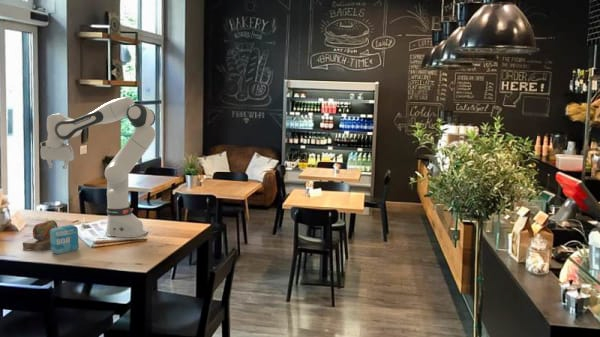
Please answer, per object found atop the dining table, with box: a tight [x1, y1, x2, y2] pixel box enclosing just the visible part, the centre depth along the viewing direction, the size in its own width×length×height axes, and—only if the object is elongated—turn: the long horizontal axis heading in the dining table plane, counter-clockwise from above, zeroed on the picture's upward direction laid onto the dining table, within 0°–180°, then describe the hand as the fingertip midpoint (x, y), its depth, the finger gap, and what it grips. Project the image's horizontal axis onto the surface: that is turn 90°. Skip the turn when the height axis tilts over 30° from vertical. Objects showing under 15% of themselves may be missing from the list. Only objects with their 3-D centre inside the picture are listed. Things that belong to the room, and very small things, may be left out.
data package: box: [50, 224, 80, 255], centre depth 293 cm, size 12×4×12 cm, turn 137°
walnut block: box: [22, 237, 51, 252], centre depth 305 cm, size 12×20×4 cm, turn 166°
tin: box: [32, 219, 59, 240], centre depth 304 cm, size 15×3×8 cm, turn 161°
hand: (58, 168), depth 332 cm, fingers open, 8 cm apart
